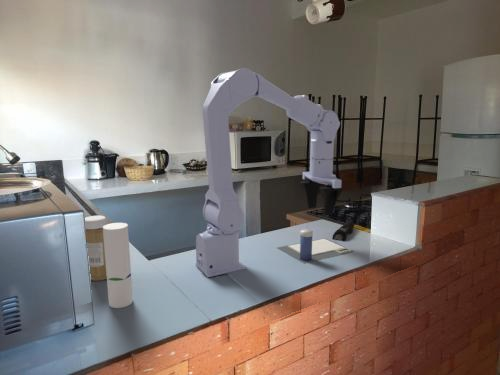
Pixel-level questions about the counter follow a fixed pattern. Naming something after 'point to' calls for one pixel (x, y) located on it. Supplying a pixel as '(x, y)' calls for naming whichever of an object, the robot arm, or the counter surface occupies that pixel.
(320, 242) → the paper
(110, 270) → the tube
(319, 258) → the desk mat
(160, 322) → the counter surface
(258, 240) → the counter surface
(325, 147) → the robot arm
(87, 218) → the sprinkles bottle
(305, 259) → the marker
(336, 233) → the electric trimmer
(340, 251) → the word tile
